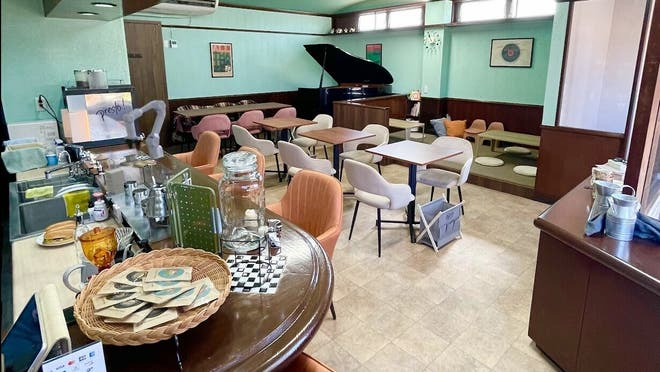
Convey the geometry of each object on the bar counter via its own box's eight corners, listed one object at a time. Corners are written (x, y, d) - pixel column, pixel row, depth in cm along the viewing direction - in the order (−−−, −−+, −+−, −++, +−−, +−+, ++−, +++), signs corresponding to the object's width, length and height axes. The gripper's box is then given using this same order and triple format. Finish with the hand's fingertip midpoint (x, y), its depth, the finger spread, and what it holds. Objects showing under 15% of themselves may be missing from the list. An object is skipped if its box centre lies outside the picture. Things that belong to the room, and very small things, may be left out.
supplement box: (121, 188, 237) (116, 168, 233) (128, 190, 233) (123, 169, 229) (108, 192, 231) (103, 171, 227) (115, 194, 227) (110, 173, 223)
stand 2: (147, 162, 297) (146, 160, 297) (156, 163, 293) (156, 160, 293) (133, 166, 287) (132, 164, 287) (143, 167, 283) (142, 165, 282)
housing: (133, 160, 299) (132, 154, 298) (137, 160, 298) (136, 154, 296) (125, 162, 294) (123, 156, 292) (129, 162, 292) (128, 156, 290)
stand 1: (134, 160, 303) (133, 158, 303) (143, 161, 299) (143, 159, 299) (120, 164, 293) (119, 162, 293) (129, 165, 289) (129, 163, 288)
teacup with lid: (96, 173, 275) (92, 156, 271) (97, 170, 282) (93, 153, 279) (116, 170, 279) (112, 153, 276) (116, 167, 287) (112, 151, 284)
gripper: (119, 131, 291) (123, 149, 296) (133, 132, 285) (136, 150, 289) (127, 129, 297) (131, 147, 302) (141, 130, 291) (145, 148, 295)
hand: (134, 149), depth 296 cm, fingers open, 7 cm apart
